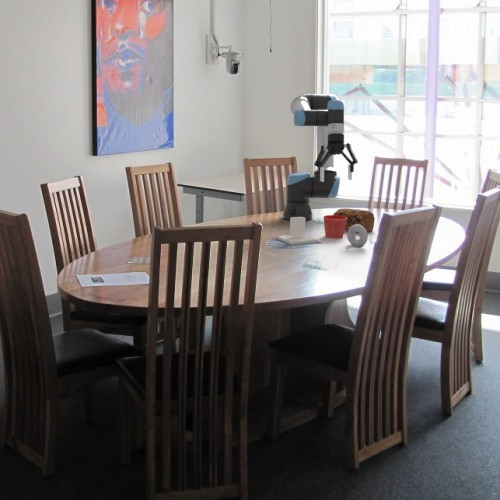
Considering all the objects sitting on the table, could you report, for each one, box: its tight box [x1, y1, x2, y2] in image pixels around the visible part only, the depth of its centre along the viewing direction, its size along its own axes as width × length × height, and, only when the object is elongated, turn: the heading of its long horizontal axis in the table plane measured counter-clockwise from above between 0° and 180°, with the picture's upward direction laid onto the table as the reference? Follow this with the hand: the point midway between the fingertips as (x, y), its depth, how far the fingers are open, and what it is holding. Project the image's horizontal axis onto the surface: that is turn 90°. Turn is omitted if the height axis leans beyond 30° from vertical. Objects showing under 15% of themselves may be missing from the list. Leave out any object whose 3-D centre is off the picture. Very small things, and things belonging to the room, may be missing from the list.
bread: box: [332, 208, 376, 233], centre depth 386 cm, size 19×11×10 cm, turn 38°
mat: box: [272, 237, 323, 247], centre depth 356 cm, size 18×16×1 cm
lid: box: [277, 217, 318, 244], centre depth 355 cm, size 13×13×10 cm
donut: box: [346, 224, 369, 248], centre depth 346 cm, size 10×3×10 cm, turn 47°
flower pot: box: [322, 214, 347, 239], centre depth 365 cm, size 11×11×10 cm
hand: (335, 180), depth 367 cm, fingers open, 13 cm apart
